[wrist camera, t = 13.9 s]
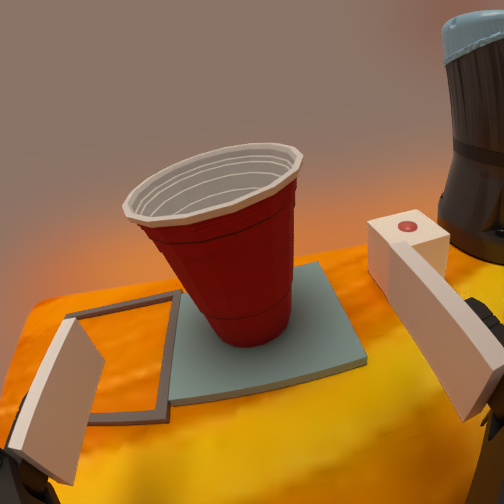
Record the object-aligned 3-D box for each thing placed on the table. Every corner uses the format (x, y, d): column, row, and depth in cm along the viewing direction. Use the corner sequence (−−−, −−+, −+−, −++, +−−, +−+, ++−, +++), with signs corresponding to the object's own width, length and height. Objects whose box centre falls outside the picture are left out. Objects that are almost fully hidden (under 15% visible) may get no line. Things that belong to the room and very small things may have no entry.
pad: (318, 268, 29) (318, 261, 28) (366, 364, 18) (367, 356, 18) (184, 300, 29) (181, 293, 28) (172, 406, 18) (168, 400, 18)
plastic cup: (167, 381, 19) (82, 223, 14) (200, 288, 29) (158, 164, 23) (331, 372, 17) (310, 175, 12) (318, 272, 27) (297, 133, 21)
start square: (183, 292, 30) (181, 288, 30) (168, 422, 17) (165, 418, 17) (68, 317, 30) (66, 314, 30) (22, 421, 17) (18, 417, 17)
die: (414, 258, 26) (416, 207, 24) (443, 287, 22) (450, 232, 19) (368, 271, 26) (366, 219, 24) (392, 305, 22) (395, 248, 19)
